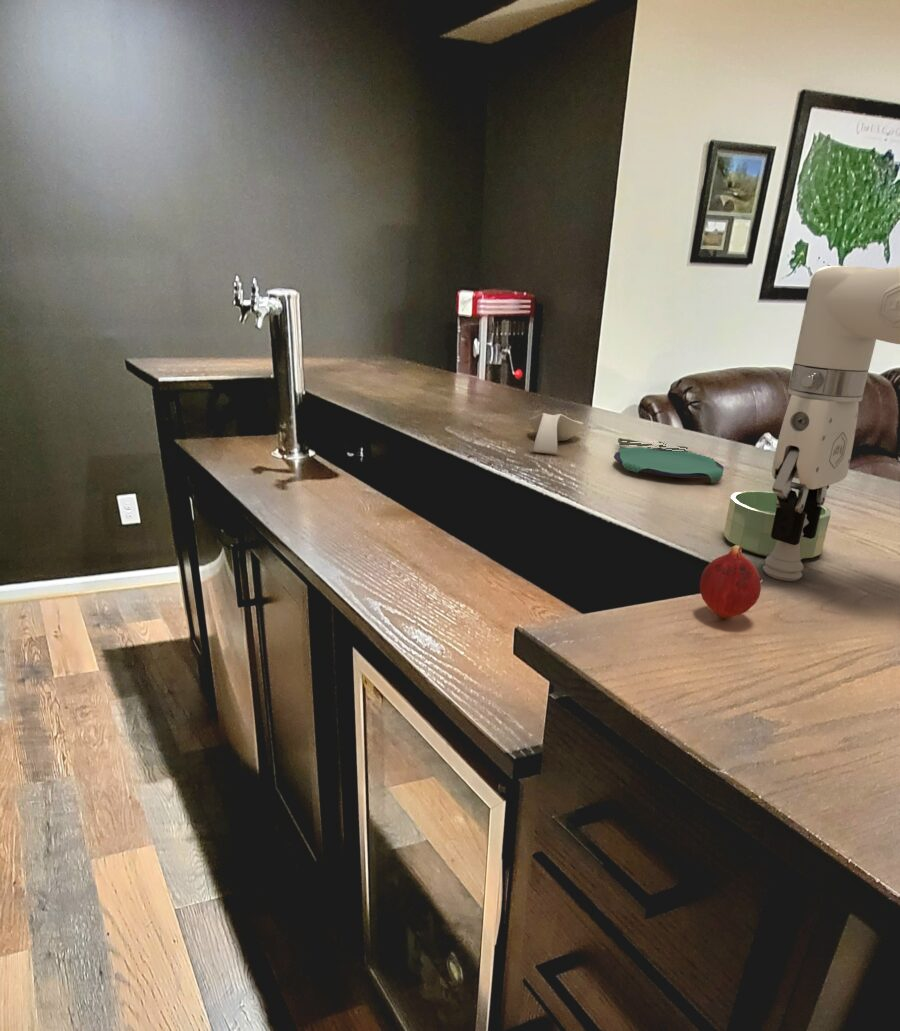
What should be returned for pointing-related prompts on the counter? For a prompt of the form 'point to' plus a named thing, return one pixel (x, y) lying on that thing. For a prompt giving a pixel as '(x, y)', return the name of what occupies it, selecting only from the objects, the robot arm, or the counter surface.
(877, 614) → the counter surface
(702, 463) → the cutlery set
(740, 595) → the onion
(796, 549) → the rook chess piece
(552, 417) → the spoon rest
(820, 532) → the green round tub
